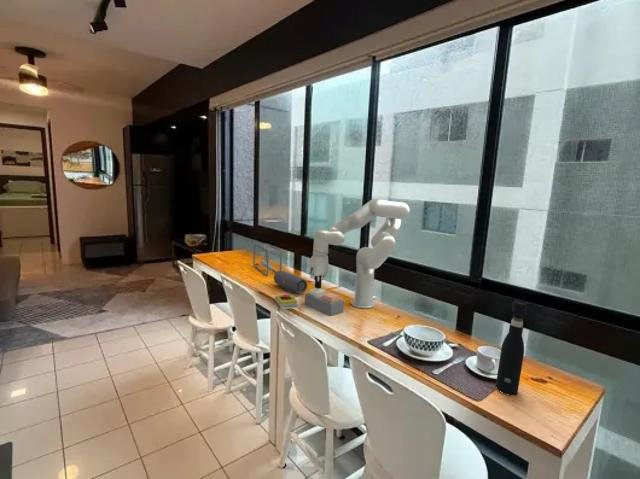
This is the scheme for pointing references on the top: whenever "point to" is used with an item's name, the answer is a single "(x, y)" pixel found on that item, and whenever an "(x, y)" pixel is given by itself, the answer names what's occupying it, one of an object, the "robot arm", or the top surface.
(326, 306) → the key box
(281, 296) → the emergency button
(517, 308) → the black water bottle
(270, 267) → the newton's cradle
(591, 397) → the top surface
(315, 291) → the key white
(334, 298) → the key terracotta
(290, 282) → the bluetooth speaker
